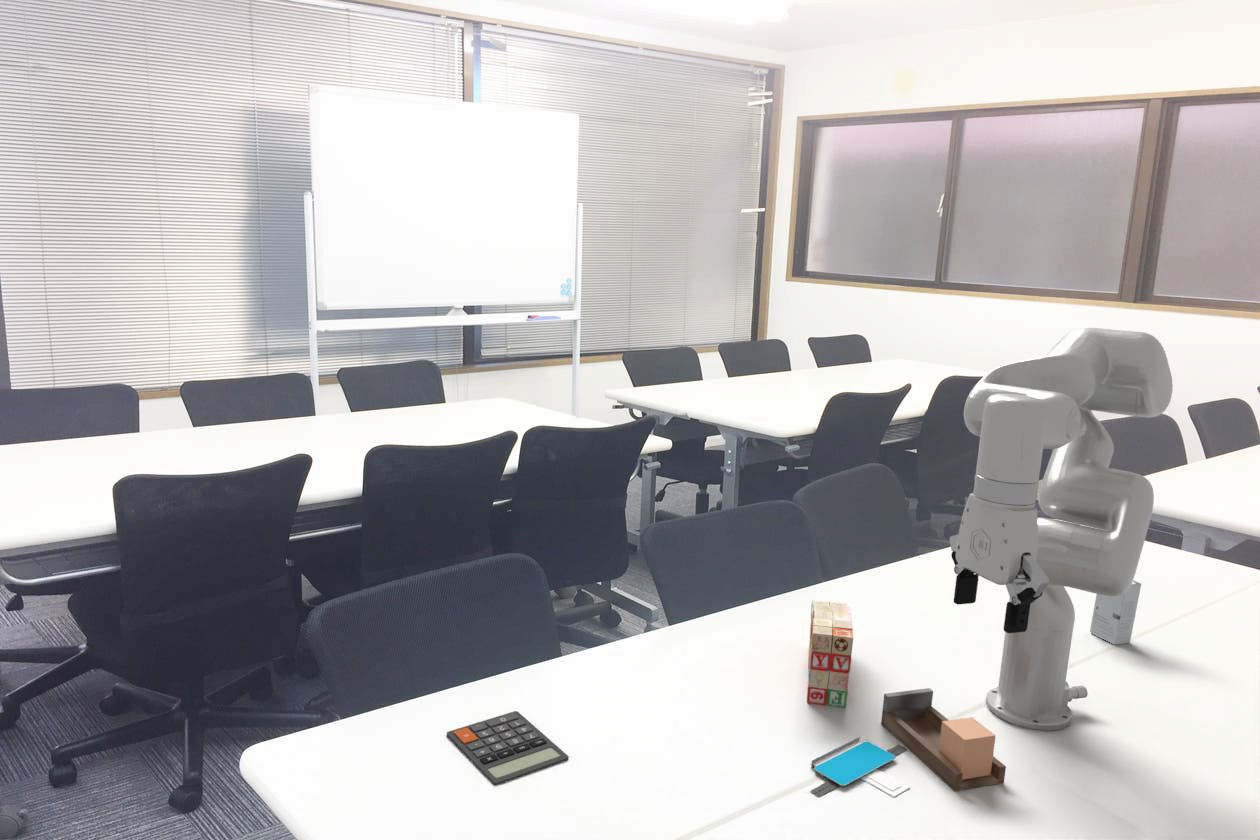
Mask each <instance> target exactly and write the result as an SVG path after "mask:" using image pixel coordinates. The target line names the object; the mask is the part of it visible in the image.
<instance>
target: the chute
mask: <svg viewBox="0 0 1260 840" xmlns="http://www.w3.org/2000/svg"><path fill="white" fill-rule="evenodd" d="M933 695H934V691H933V689H931V688H929V687H927V688H920V689H911V690H904V691H903V690H902V691H897V692H889V693H883V701H882V711H881V712H882V714H881V721H880V724H881V725H882V727H884V728H885V729H886V730H887V731H888V733H891V734H892V735H893V736H894V737H895V738H896V739H897V740H898V741H899V742H900V743H901V744H902V745H903V746H904V747H905V748H906V749H907V750H909V751H910V752H911V753H912V754H914V756H915V757H917V758H918V759H919V760H920V762H922V763H923V764H924V765H925V766H926V767H927V768H929V769H930V770H931V771H932V772H933V773H934V774H935V775H936V776H937V777H938V778H939V779H940V780H942V781H943V782H944V783H945V784H946V785H947V786H948V787H949V788H951V790H953V791H954V792H958V791H963V790H969V789H975V788H981V787H987V786H994V785H999V784H1004V783H1005V776H1006V769H1007V766H1006V765H1005V764H1004V763H1002V762H1001V761H1000V760H999V759H998V758H996V757H995V756H994V755H993V760H992V768H991V775H988V776H982V777H976V778H970V779H964V780H962V775H963V773H962V772H961V771H959V770H958V769H957V768H956V767H955V766H954V765H953V764H951V763H950V762H949V761H948V760H947V759H946V758H945V757H943V756H942V755H941V754H940V753H939V744H940V735H941V726H942V721H948V720H949V719H948V718H947V717H945V716H944V715H943V714H942V713H941V712H940V711H939V710H937V709H936V708H935V707H933V706H932V705H933V698H934V696H933Z"/></svg>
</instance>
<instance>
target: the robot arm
mask: <svg viewBox="0 0 1260 840" xmlns="http://www.w3.org/2000/svg"><path fill="white" fill-rule="evenodd" d="M1172 395H1173V377H1172V372H1171V368H1170V364H1169V361H1168V357H1167V354H1166V351H1165V348H1164V347H1163V345H1162V343H1161V342H1160V341H1159V340H1158V338H1157V337H1155V336H1153V335H1152V334H1150V333H1147V332H1142V331H1133V330H1121V329H1110V328H1098V327H1082V328H1081V327H1080V328H1076V329H1074V330H1071V331H1069V332H1068V333H1066V334H1065V335H1063V337H1061V339H1060V340H1058V341H1057V343H1056V344H1054V346H1053V347H1052V348H1051V349H1050V350H1049V352H1047V353H1046V355H1042V356H1038V357H1033V358H1029V359H1025V360H1021V361H1017V362H1016V361H1014V362H1011V363H1006V364H1003V365H1000V366H998V367H995V368H993V369H991V370H990V371H988V372H987V373H986V374H985V375H983V376H982V377H981V378H980V380H978V382H976V384H974V386H973V388H972V389H971V390H970V392H969V394H968V396H967V398H966V400H965V403H964V407H963V419H964V420H963V421H964V424H965V426H966V428H967V430H968V431H969V432H970V433H972V435H974V436H977V437H979V445H978V453H977V460H976V467H975V468H976V469H975V475H974V486H973V492H972V493H969V496H968V498H967V500H966V504H965V506H964V509H963V514H962V516H961V520H960V526H959V529H958V533H957V534H955V535H951V536H949V543H950V549H951V559H952V561H953V563H954V567H953V573H954V574H955V575H956V577H955V585H954V596H953V603H954V604H955V605H958V606H959V605H968V604H969V605H970V604H975V603H976V600H977V593H978V586H979V585H978V584H979V577H981V578H983V579H985V580H987V581H989V582H991V583H993V584H995V585H999V586H1005V588H1006V590H1007V593H1008V596H1009V600H1008V602H1006V607H1005V615H1004V622H1003V631H1004V640H1003V647H1002V654H1001V655H1002V656H1001V663H1000V671H999V677H998V679H999V680H998V686H996V687H993V688H992V689H989V690H988V692H987V693H986V697H985V698H986V700H985V703H986V706H987V708H988V709H989V710H990V711H991V712H992V713H993V714H994V715H995V716H997V717H998V718H1000V719H1002V720H1004V721H1007V723H1011V724H1013V725H1015V726H1019V727H1023V728H1026V729H1031V730H1037V731H1057V730H1063V729H1064V728H1066V727H1069V725H1070V724H1072V723H1071V722H1072V720H1073V712H1072V710H1071V708H1070V706H1069V705H1068V704H1069V702H1071V701H1072V700H1077V699H1078V700H1079V699H1085V698H1087V697H1088V695H1089V693H1088V690H1087V687H1086V686H1084V685H1075V686H1071V687H1069V686H1070V685H1069V683H1068V682H1067V674H1068V666H1069V661H1070V653H1071V645H1072V639H1073V631H1074V626H1075V619H1076V614H1075V612H1076V611H1075V607H1074V604H1073V601H1072V598H1071V597H1070V595H1069V593H1068V591H1067V589H1066V588H1067V587H1068V588H1072V589H1075V590H1079V591H1084V592H1088V593H1093V594H1096V595H1097V594H1100V595H1105V596H1111V597H1116V596H1121V595H1123V594H1124V593H1126V592H1127V591H1128V589H1129V588H1130V586H1131V584H1132V581H1133V580H1135V577H1136V573H1137V568H1138V565H1139V562H1140V560H1141V559H1140V558H1141V555H1142V551H1143V547H1144V544H1145V540H1146V537H1147V534H1148V530H1149V526H1150V523H1151V520H1152V514H1153V509H1154V503H1155V502H1154V501H1155V500H1154V499H1155V495H1154V488H1153V485H1152V483H1151V482H1150V480H1149V479H1148V478H1146V477H1145V476H1143V475H1142V474H1139V473H1135V472H1132V471H1127V470H1122V469H1116V468H1111V467H1110V465H1111V461H1112V458H1113V455H1114V451H1115V447H1114V446H1115V445H1114V443H1113V440H1112V437H1111V436H1110V434H1109V432H1108V431H1107V429H1106V427H1105V426H1104V425H1103V424H1102V422H1100V420H1099V419H1098V418H1097V417H1096V416H1095V414H1093V411H1095V412H1102V413H1108V414H1115V415H1123V416H1131V417H1138V418H1146V419H1147V418H1156V417H1159V416H1160V415H1162V414H1163V413H1164V412H1165V411H1166V410H1167V408H1168V407H1169V405H1170V403H1171V399H1172ZM1044 449H1045V450H1052V452H1051V456H1050V457H1049V458H1050V459H1049V461H1048V463H1047V467H1046V470H1045V472H1044V474H1043V478H1042V480H1041V484H1040V488H1039V480H1040V475H1041V473H1040V472H1041V467H1042V460H1043V459H1042V458H1043V452H1044ZM1038 488H1039V491H1038ZM1037 498H1038V501H1037ZM1037 502H1038V506H1039V508H1040V510H1041V511H1042V513H1043V514H1045V515H1047V516H1048V517H1051V518H1047V517H1038V509H1037V508H1036V503H1037Z"/></svg>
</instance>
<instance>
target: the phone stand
mask: <svg viewBox="0 0 1260 840" xmlns="http://www.w3.org/2000/svg"><path fill="white" fill-rule="evenodd" d="M860 739H861V737H860V736H859V737H857V738H855V739H853V740H851V741H849V742H847V743H845V744H843V745H841V746H838V747H836V748H834V749H832V750H831V751H828V752H827V753H825V754H823V755H820V756H818V757H817V758H814V759H812V760H811V762H809V765H810V766H811V767H810V768H813V770H814V771H815V772H816V773H817V774H819V775H820V776H821V777H820V778H821V779H822V780H824V781H825V782H823V783H821V784H820V785H818V786H817V787H814V788H813V789H811V790H809V791H810V792H811V793H812V794H814V795H815V796H816V797H821V796H824V795H826V794H827V793H828V792H829V793H830V792H832V791H835V790H836V789H838V788H839V787H845V786H847V785H849V784H851V783H852V782H855V781H856V780H858V779H860V780H862V781H864V782H865V783H867V784H870V785H871V786H873V787H874V788H877V789H878V790H880V791H882V792H884V793H885V794H887V795H889V796H890V797H892V798H896V797H897V796H899V795H901V794H902V793H905V792H906V791H908V790H909V789H910V788H911V786H909V785H907V784H906V783H903V782H901V781H899V780H897V779H895V778H894V777H892V776H890V775H888V774H886V773H884V772H883V771H881V770H880V769H878V768H880V767H882V766H884V765H886V764H888V763H890V762H891V761H893V760H895V759H896V757H898V756H899V755H900V754H902V753H903V752H906V751H907V750H908V748H907V747H906V746H904V745H903V746H902V745H901V744H897V745H895V746H893V747H891V748H889V749H887V750H885V749H883V748H881V747H880V746H877V745H875V744H874V743H872V742H871V741H863V742H861V741H860Z"/></svg>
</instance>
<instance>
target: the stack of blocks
mask: <svg viewBox="0 0 1260 840" xmlns="http://www.w3.org/2000/svg"><path fill="white" fill-rule="evenodd" d="M853 629H854V627H853V619H852V614H851V607H850V606H848V605H847V603H843V602H834V601H822V600H814V599H813V600H811V607H810V627H809V645H808V666H807V667H808V668H807V670H808V675H807V677H808V680H807V688H806V689H807V691H806V703H807V704H809V705H810V704H812V705H818V706H826V707H832V708H833V707H834V708H841V709H846V708H847V701H848V694H849V690H848V689H849V688H848V687H849V678H850V672H851V664H852V653H853V652H852V651H853V644H854V632H853Z"/></svg>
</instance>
